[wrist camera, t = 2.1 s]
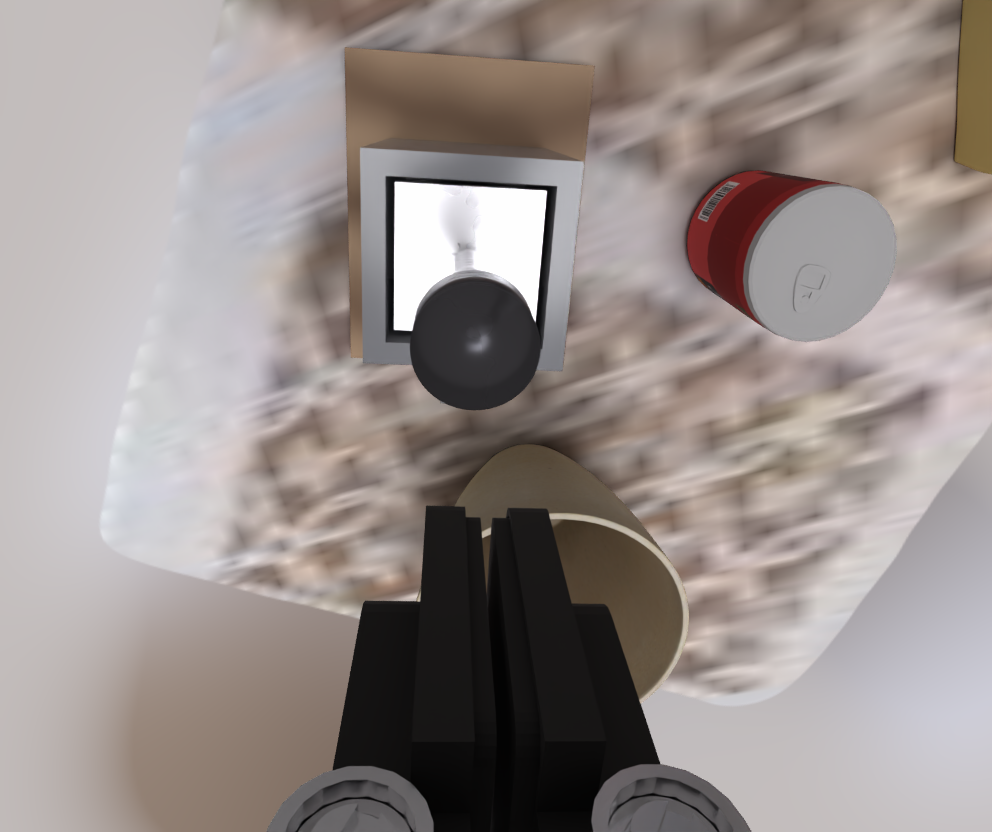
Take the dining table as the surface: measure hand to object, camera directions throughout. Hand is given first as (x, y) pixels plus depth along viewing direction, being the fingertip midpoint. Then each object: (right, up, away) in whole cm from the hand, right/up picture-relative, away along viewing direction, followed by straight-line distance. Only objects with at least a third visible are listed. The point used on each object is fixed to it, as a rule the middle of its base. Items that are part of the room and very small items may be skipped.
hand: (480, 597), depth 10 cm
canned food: (+16, +14, +36) cm, 42 cm away
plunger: (-1, +10, +22) cm, 24 cm away
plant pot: (+2, -3, +42) cm, 42 cm away
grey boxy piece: (-2, +13, +33) cm, 36 cm away
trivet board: (-2, +15, +34) cm, 37 cm away
